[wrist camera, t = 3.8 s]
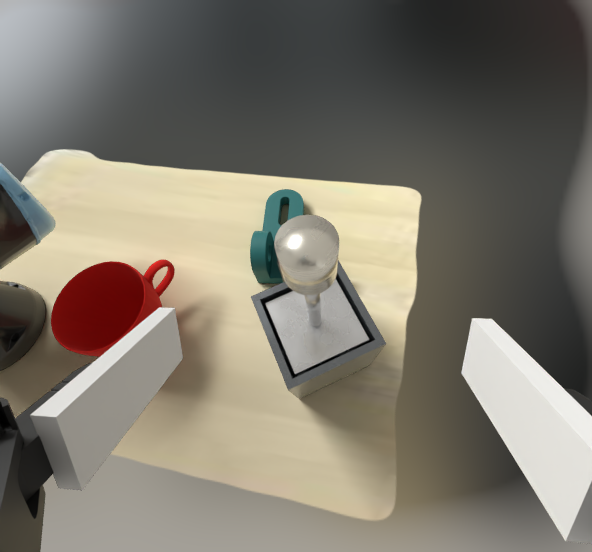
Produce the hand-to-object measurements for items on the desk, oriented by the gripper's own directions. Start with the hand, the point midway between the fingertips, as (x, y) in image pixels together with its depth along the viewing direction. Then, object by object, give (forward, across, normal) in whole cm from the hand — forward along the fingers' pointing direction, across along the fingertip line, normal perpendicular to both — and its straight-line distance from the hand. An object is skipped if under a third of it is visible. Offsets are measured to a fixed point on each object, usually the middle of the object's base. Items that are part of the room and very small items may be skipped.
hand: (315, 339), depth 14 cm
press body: (+29, -2, -17) cm, 34 cm away
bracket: (+42, -8, -5) cm, 43 cm away
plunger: (+19, -1, -9) cm, 21 cm away
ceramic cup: (+30, -29, -16) cm, 45 cm away
